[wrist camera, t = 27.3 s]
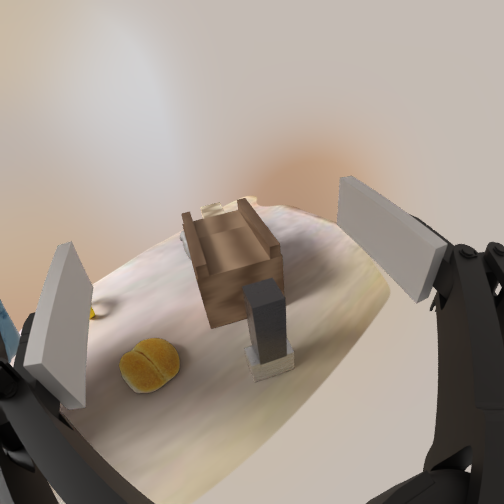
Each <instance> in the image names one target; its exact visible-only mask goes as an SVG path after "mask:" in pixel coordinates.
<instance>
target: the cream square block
mask: <svg viewBox="0 0 504 504" xmlns="http://www.w3.org/2000/svg"><path fill="white" fill-rule="evenodd" d="M218 209H223V208H222V206H221V204H220V202H219V203H215V204H211V205H207V206H203V207H201V213H206V212H210V211H214V210H218ZM202 218H203V214H202Z"/></svg>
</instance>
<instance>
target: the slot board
mask: <svg viewBox="0 0 504 504" xmlns="http://www.w3.org/2000/svg"><path fill="white" fill-rule="evenodd" d="M237 203H238V210H236V211H232V212H228V213H224V214H220V215H216V216H212V217H208V218H204V219H200V220H196V221H192V217H191V214H190V212H187V213H182V219H183V223H184V224H183V229H184V233H185V237H186V241H187V245H188V249H189V253H190V256H191V260H192V264H193V268H194V272H195V275H196V279H197V283H198V286H199V290H200V293H201V297H202V300H203V303H204V307H205V310H206V313H207V317H208V320H209V323H210V327H211V329H212V328H216V327H219V326H223V325H226V324H230V323H233V322H236V321H240V320H243V319H246V318H247V314H246V308H245V302H244V296H243V290H242V286H245V285H248V284H252V283H255V282H259V281H262V280H266V279H269V278H272V277H273V279H274V280H275V282H276V284H277V285H278V287H279V289H280V290H281V292H282V294H283V295H284V280H283V259H282V255H281V253H280V243H279V242H278V241H277V239H276V238H275V237H274V235H273V234H272V233H271V231H270V230H269V229H268V227H267V226H266V225H265V223H264V222H263V221H262V220H261V218H260V217H259V216H258V214H257V213H256V212H255V210H254V209H253V208H252V206H251V205H250V204H249V202H248V201H247V200H246V199H245V198H243V199H239V200H237Z"/></svg>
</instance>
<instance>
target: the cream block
mask: <svg viewBox="0 0 504 504" xmlns="http://www.w3.org/2000/svg"><path fill="white" fill-rule="evenodd" d="M224 213H225V212H224V210H223V209H218V210H214V211H210V212H206V213H202V214H203V219H204V218H208V217H212V216H216V215H220V214H224Z"/></svg>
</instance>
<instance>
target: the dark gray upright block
mask: <svg viewBox="0 0 504 504" xmlns="http://www.w3.org/2000/svg"><path fill="white" fill-rule="evenodd" d="M242 290H243V296H244V302H245V308H246V314H247V320H248V326H249V332H250V337H251V343H252V346H249V347H246V348H244V349H245V354H246V359H247V363H248V367H249V369H250V372H251V374H252V377H253V379H254V382H257V381H260V380H263V379H266V378H269V377H272V376H275V375H278V374H281V373H284V372H287V371H289V370H292V369H294V350H293V349H292V347H291V345H290V343H289V341H288V339H287V337H286V305H285V297H284V295H283V294H282V292H281V290H280V289H279V287H278V285H277V284H276V282H275V280H274V279H273V277H272V278H269V279H266V280H262V281H259V282H255V283H252V284H248V285H245V286H242Z"/></svg>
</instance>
